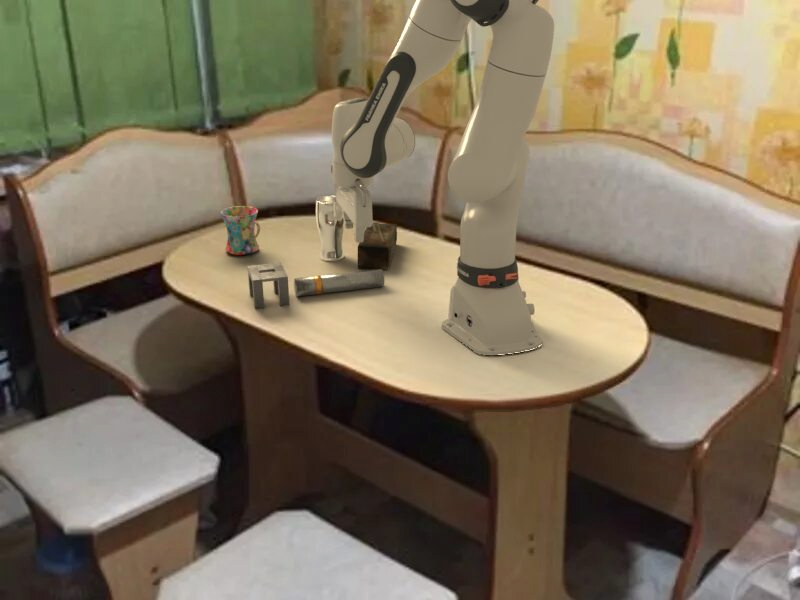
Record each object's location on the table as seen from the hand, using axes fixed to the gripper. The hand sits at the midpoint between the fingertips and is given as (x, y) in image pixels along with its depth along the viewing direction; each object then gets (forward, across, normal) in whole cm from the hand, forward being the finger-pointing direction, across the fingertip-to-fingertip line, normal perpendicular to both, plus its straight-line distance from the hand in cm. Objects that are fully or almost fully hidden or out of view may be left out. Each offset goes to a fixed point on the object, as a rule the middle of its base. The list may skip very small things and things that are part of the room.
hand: (353, 234), depth 197 cm
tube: (+13, 0, +4) cm, 13 cm away
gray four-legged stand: (+13, 0, +20) cm, 24 cm away
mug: (+14, +32, +21) cm, 40 cm away
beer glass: (+14, +22, +1) cm, 25 cm away
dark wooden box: (+14, +19, -11) cm, 25 cm away
